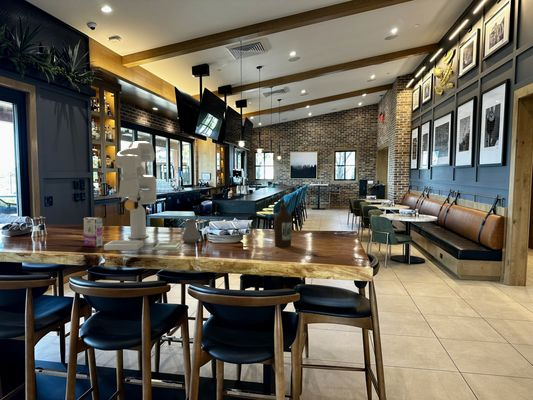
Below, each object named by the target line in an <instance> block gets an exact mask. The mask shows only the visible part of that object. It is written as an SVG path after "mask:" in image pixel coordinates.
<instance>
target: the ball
mask: <svg viewBox="0 0 533 400" xmlns="http://www.w3.org/2000/svg"><path fill="white" fill-rule="evenodd" d="M124 206H125V208H126V209H125V210H127V211H130V210H133V209H134V208H135V203H134V201H133V200H129V199H127V200H125V205H124Z"/></svg>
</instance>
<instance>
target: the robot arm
mask: <svg viewBox="0 0 533 400" xmlns="http://www.w3.org/2000/svg"><path fill="white" fill-rule="evenodd" d="M155 157H156V156H155V151H154V146H153V144H152V143H151V142H148V141H133V142H130V144H129V146H128V148H126V149H122V150H120V151H118V152H117V154H116V155H115V159H114V164H115V166H116V167H117V168H119V169H121V174H120V175H119V178H121V179H120V181H119V189H118V190H119V191H118V192H117V193H116V194H115V196H116V198H118V200H120V202H121V208H122V210H127V209H126V208H125V206H124V205H125V202H126V199H127V198H128V200H133V201H134V203H135V208H134V209H133V210H129V213H130V214H129V219H130V235H128V239H131V240H133V239H134V240H138V239H146V238H148V237H149V234H147V221H146V219H147V218H146V217H147V216H146V209H145V207H143V205H153V204H155V203H156V202H157V179H156V177H155V175H151V174H149V175H148V174H146V169H145V167H144V166H143V165H142V164H143V163H152V162H154V161H155Z"/></svg>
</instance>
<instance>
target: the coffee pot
mask: <svg viewBox="0 0 533 400" xmlns="http://www.w3.org/2000/svg"><path fill="white" fill-rule="evenodd" d="M198 218H199V214H197V215H196V216H195V218H194V220H186V221H185V223H186V226H185V228H184V231H183V233H182V236H181V239H182V240H183V242H184V243H186V244H187V243H189V244H191V243H192V244H194V243H197V241H200V239H201V234H200V232H199V230H198V227H197V225H196V224H197V219H198Z"/></svg>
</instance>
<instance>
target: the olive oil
mask: <svg viewBox="0 0 533 400" xmlns="http://www.w3.org/2000/svg"><path fill="white" fill-rule="evenodd" d="M279 209H280V210H279V211H278V212H277V213H276V214H275V216H274V219H273V227H274V247H276V248H281V249H282V248H290V247H291V246H292V239H293V238H292V229H293V217H292V215H291V214H290V213H289V212H288V210H287V203H280V207H279Z"/></svg>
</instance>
